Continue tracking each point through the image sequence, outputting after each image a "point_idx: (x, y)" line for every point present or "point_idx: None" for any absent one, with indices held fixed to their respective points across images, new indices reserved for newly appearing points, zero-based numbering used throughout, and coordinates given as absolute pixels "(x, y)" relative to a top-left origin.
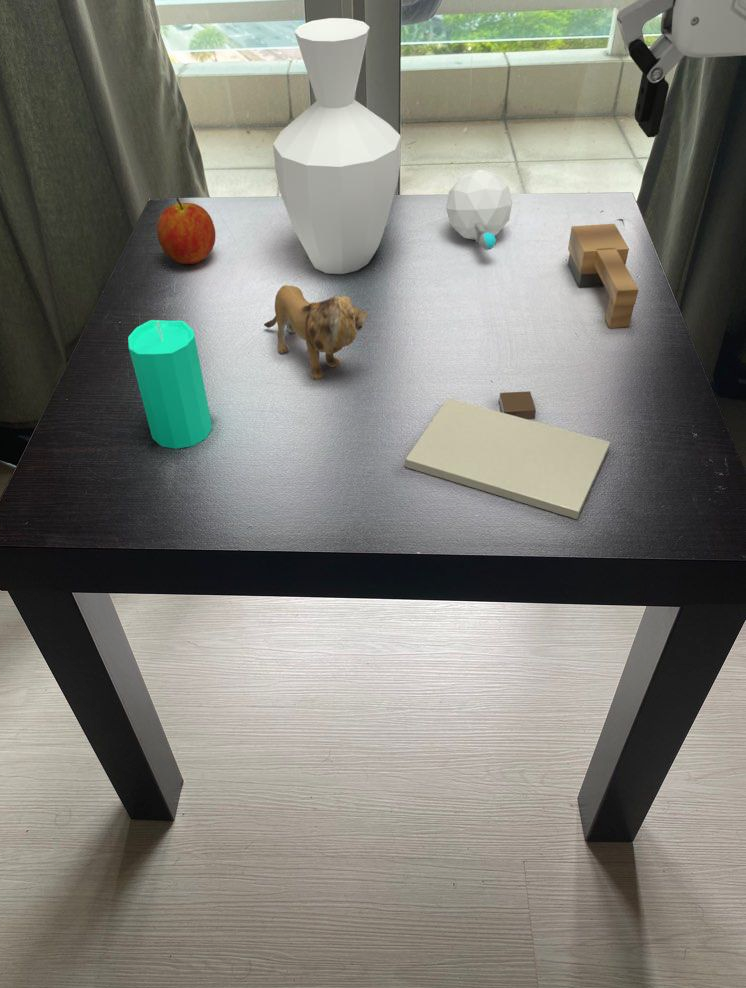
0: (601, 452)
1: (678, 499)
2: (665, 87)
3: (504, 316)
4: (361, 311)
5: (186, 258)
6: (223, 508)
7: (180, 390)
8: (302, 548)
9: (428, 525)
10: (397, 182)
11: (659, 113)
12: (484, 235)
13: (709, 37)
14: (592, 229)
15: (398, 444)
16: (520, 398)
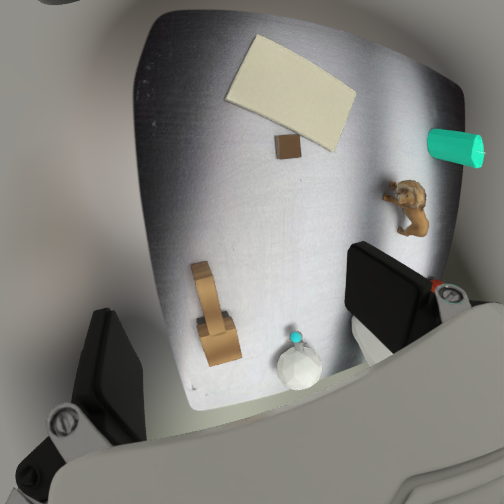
0: (234, 86)
1: (181, 53)
2: (420, 282)
3: (284, 265)
4: (404, 200)
5: (432, 280)
6: (417, 83)
7: (458, 133)
8: (388, 48)
9: (338, 46)
10: (367, 350)
11: (382, 259)
12: (300, 338)
13: (494, 346)
14: (227, 356)
15: (356, 114)
16: (287, 150)
